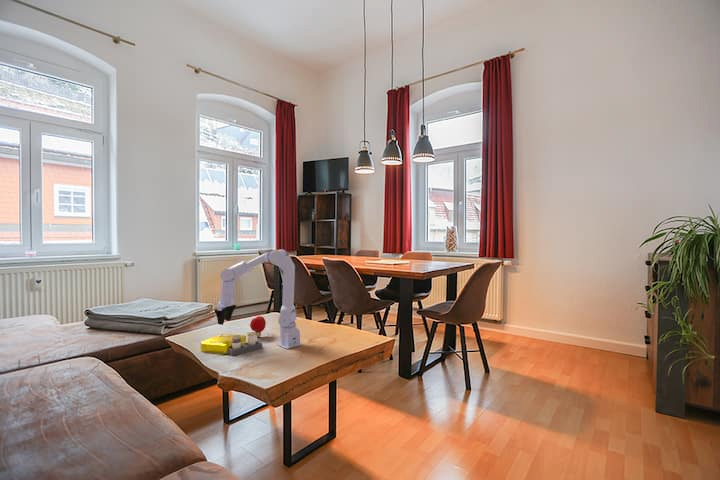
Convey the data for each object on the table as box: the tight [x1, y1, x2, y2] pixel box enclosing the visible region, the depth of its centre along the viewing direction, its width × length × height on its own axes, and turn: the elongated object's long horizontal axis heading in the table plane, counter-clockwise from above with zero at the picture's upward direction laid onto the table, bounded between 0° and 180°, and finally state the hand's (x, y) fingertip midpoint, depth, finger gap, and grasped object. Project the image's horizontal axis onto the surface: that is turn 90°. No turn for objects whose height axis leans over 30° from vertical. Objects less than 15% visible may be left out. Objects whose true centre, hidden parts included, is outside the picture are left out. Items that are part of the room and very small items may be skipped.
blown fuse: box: [232, 334, 241, 350], centre depth 155 cm, size 4×4×7 cm
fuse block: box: [227, 339, 263, 357], centre depth 158 cm, size 6×14×2 cm, turn 131°
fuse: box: [246, 331, 257, 346], centre depth 160 cm, size 4×4×7 cm
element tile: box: [200, 333, 247, 355], centre depth 163 cm, size 15×15×5 cm
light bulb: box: [249, 315, 267, 338], centre depth 177 cm, size 9×7×10 cm
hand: (224, 322), depth 167 cm, fingers open, 7 cm apart
